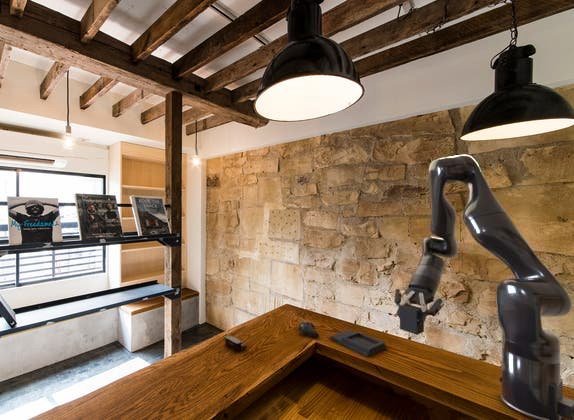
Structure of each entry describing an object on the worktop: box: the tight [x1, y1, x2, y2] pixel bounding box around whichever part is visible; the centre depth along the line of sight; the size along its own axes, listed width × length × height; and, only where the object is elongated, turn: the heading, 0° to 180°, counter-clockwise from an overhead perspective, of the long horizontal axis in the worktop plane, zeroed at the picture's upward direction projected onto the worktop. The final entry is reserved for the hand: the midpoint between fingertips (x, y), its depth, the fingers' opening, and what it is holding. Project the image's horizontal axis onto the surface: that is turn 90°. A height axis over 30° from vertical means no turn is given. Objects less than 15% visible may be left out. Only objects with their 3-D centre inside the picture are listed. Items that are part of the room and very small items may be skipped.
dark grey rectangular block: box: [399, 304, 425, 336], centre depth 90 cm, size 5×5×8 cm
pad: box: [330, 329, 387, 358], centre depth 99 cm, size 14×12×2 cm
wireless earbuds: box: [224, 334, 248, 353], centre depth 95 cm, size 5×7×3 cm, turn 41°
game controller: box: [298, 321, 320, 339], centre depth 108 cm, size 10×5×6 cm
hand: (409, 319), depth 89 cm, fingers closed on dark grey rectangular block, 5 cm apart
